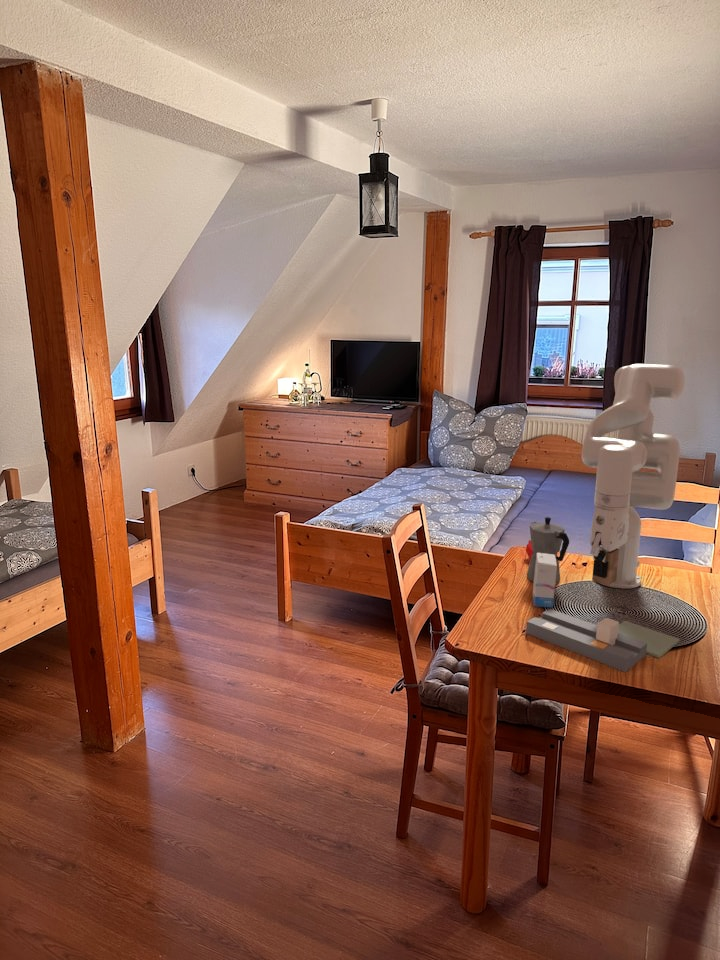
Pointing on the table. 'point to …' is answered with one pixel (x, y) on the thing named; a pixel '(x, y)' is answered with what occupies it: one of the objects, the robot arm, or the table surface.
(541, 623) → the switch panel
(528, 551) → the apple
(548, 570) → the ink box
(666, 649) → the mat
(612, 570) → the brown block
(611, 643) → the switch tab
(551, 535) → the coffeepot
